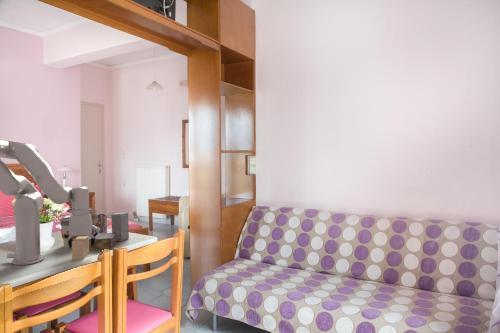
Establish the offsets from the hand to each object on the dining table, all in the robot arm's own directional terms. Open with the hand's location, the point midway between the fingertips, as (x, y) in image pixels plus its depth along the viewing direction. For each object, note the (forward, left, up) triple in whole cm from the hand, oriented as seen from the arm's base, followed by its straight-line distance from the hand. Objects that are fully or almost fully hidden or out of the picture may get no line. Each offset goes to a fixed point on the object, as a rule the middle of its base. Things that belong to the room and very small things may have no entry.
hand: (81, 246), depth 164 cm
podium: (+5, +17, -5) cm, 18 cm away
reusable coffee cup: (-10, +23, -5) cm, 26 cm away
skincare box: (+13, +32, -5) cm, 35 cm away
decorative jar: (-3, +35, -5) cm, 35 cm away
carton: (0, 0, -5) cm, 5 cm away
